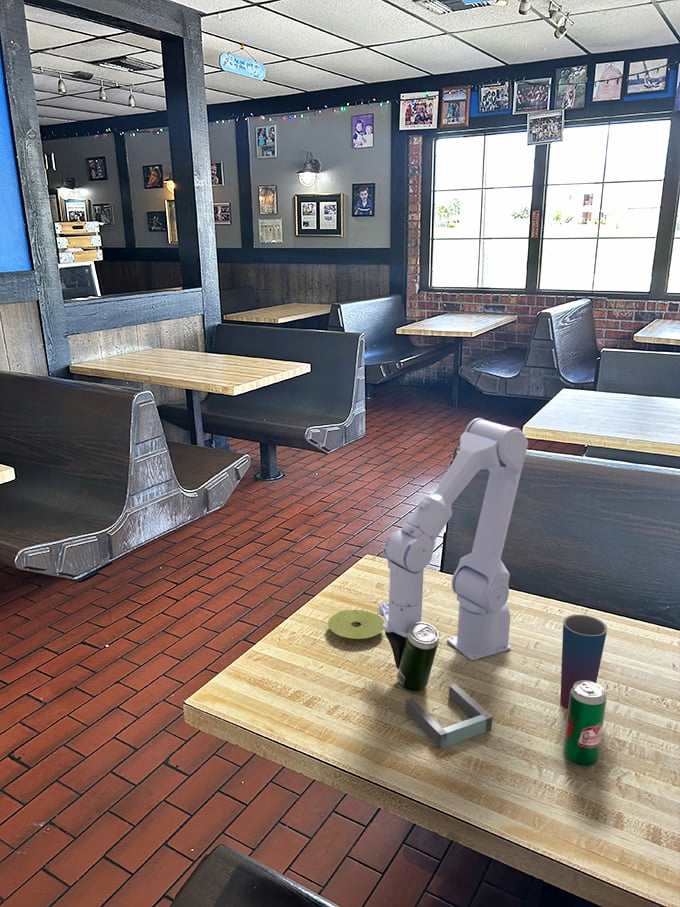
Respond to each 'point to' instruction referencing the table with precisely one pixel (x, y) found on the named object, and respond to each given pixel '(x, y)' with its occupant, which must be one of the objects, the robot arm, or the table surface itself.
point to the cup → (580, 652)
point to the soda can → (584, 723)
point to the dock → (457, 732)
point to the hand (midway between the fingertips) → (402, 667)
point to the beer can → (417, 657)
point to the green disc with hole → (356, 624)
